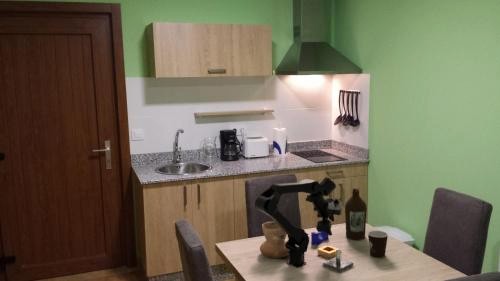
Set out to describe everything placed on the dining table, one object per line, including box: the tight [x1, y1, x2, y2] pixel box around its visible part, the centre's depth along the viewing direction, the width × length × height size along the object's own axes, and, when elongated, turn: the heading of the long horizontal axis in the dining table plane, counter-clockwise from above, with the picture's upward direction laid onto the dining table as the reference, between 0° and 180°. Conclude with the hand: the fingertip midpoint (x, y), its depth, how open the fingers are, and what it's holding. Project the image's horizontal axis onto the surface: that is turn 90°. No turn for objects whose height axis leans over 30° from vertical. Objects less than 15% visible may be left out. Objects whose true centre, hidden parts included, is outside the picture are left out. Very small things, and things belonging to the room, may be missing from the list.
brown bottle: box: [344, 187, 368, 241], centre depth 226 cm, size 11×11×25 cm
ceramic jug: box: [259, 220, 290, 259], centre depth 207 cm, size 18×14×14 cm
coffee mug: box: [367, 230, 389, 259], centre depth 205 cm, size 12×9×10 cm
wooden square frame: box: [317, 245, 338, 260], centre depth 206 cm, size 7×7×2 cm
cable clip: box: [310, 231, 329, 246], centre depth 223 cm, size 12×4×6 cm, turn 143°
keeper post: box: [322, 248, 354, 273], centre depth 193 cm, size 9×9×8 cm
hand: (332, 228), depth 208 cm, fingers open, 9 cm apart
